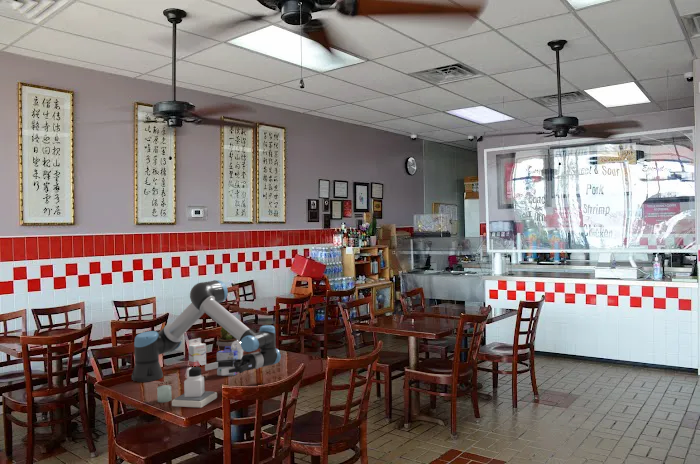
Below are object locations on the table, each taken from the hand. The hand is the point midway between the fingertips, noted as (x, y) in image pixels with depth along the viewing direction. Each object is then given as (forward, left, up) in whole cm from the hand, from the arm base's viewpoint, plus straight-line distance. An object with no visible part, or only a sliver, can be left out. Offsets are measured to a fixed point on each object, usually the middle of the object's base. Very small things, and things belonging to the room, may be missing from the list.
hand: (213, 370), depth 247 cm
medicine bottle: (-5, -8, -9) cm, 13 cm away
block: (-20, -8, -12) cm, 25 cm away
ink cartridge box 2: (-12, +38, -12) cm, 41 cm away
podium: (-5, -8, -12) cm, 16 cm away
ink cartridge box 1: (-39, +55, -12) cm, 68 cm away
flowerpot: (-29, +75, -12) cm, 81 cm away
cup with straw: (-16, +58, -12) cm, 61 cm away
